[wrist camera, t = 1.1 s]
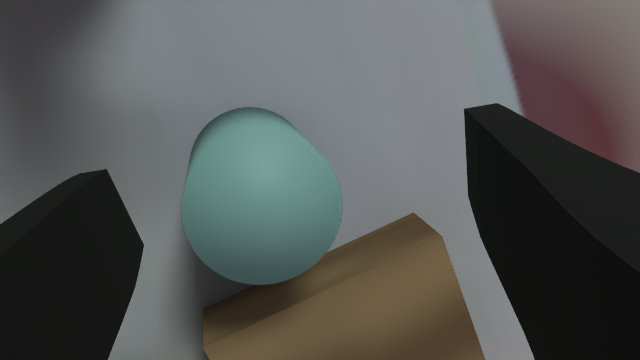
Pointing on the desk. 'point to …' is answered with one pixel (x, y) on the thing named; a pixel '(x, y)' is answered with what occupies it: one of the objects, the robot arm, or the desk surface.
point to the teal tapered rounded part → (259, 198)
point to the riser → (353, 306)
